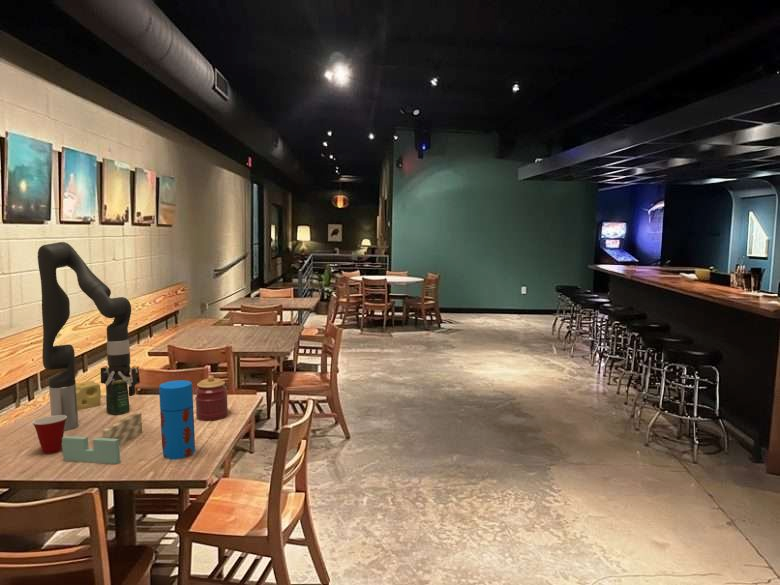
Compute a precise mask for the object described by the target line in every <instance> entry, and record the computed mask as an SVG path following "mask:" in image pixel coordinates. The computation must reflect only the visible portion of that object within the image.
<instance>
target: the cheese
mask: <svg viewBox="0 0 780 585" xmlns="http://www.w3.org/2000/svg"><path fill="white" fill-rule="evenodd" d="M76 396H77V410H78V411H81V410H84V409H90V408H94V407H100V406H101V397H102V390H101V384H100V383H97V382H95V381H93V380H88V381H83V382H79V383H76Z"/></svg>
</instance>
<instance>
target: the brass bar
mask: <svg viewBox="0 0 780 585" xmlns="http://www.w3.org/2000/svg"><path fill="white" fill-rule="evenodd" d="M142 420H143V418H142V412H134V413H132V414H131V415H129V416H127V417H125V418H123V419H121V420H119V421H117V422H116V423H114V424H112V425H110V426H108V427H106V428H104V429H103V430H102V435H103V436H102V438H111V439H119V447H120V446H122V445H123V444H124V445H125V444H126V443H127V442H129V441H131V440H132V439H134V438H135V437H137V436H139V435H140V434H142V433H143V422H142Z"/></svg>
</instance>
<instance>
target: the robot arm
mask: <svg viewBox="0 0 780 585" xmlns="http://www.w3.org/2000/svg"><path fill="white" fill-rule="evenodd" d="M37 264H38V265H37V266H38V271H39V277H40V285H41V286H40V287H41V290H40V291H41V318H42V335H43V336H42V354H41V355H42V365H43V367H44V369H45V370H47V371H54V370H60V369H63V370H62V372H61V373H58V374H57V375H55V376H53V377H51V378H50V379H48V390H49V392H48V393H49V403H50V405H49V406H50V416H56V415H65V416H67V419H66V421H65V426H64V431H68V430H72V429H74V428H77V427H78V426H79V413H78V412H79V410H77V396H76V384H77V383H76V365H75V364H76V359H75V358H76V357H75V355H76V353H75V350H74V346H73V345H72V344H60V345H54V343H55V341H56V338H57V336H58V334H59V333H60V331H61V330H62V329H63V327H65V324H67V322H68V320H69V318H70V315H71V314H70V313H71V310H70V309H71V307H70V306H71V305H70V304H71V303H70V298H69V296H68V295H67V293H66V292H65V291H64V289H63V288H62V287H61V285H60V283H59V281H58V277H57V269H59V268H64V267H68V268H70V269H71V270H73V272H74V273H75V274H76V281H77V285H78V287H79V288H80V289H81V291H82V292H83V293H84V294H85V295H87V297H88V298H89V299H91V300H92V301H93V303H94V305H95V306H96V308H97V310H98V312H99V313H100V315H102V316H103V317H105V318H107V319H113V321H112V323H110V324H109V325H107V326H106V352H107V353H106V355H107V356H106V357H107V365H108V366H107V365H106V366H103V367H100V383H101V384H102V385H103V384H104V385H105V390H106V389H107V394H108V395H112V394H113V384H112V383H113V381H114V380H117V379H120V380H124V381H125V382H127V384H128V397H132V396H135V394H136V385H138V384H140V383H141V380H140V371H139V370H140V369H139V367H133V368H132V367H131V349H130V348H131V346H130V341H129V331H128V330H129V323H130V319H131V315H132V304H131V302H130V300H129V299H127V297H124V296H121V297H119V296H118V297H112V298H111V294H112V291H111V289H110V287H109V286H108V285H107V284H105V283H104V282H103V281H102V280H101V279H100V278H99V277H98V276H96V275H95V273H94V272H93V271H92V270H91V269H90V267H89V266H88V265H87V264H86V262H85V261H84V259H82V257H81V255H79V253H78V252H77V251H76V250H75V249H74V247H72V245H71V244H69V243H68V242H64V241H60V242H59V241H58V242H54V243H47V244H43V245H41V246H40V247H39V248H38V250H37ZM108 371H109V373H110V376H109V377H108ZM127 377H128V378H127Z"/></svg>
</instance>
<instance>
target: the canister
mask: <svg viewBox="0 0 780 585" xmlns="http://www.w3.org/2000/svg"><path fill="white" fill-rule="evenodd" d="M225 383H226V382H225V381H224V380H222V379H221V378H219V377H218V378H216V377H214V375H212V374H211V375H208V376H207V378H205V379H202V380H200V381H199V382H198V383H197V384H196V386H197V387H196V388H195V389H194V392H195V393H196V395H195V406H196V407H195V408H196V409H195V410H196V411H195V416H196V419H197V420H200V421H204V422H205V421H207V422H208V421H210V422H211V421H217V420H221V419H224V418H226V417H227V416H228V414H229V413H228V412H229V408H228V394H227V391H228V386H227V385H225Z"/></svg>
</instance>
